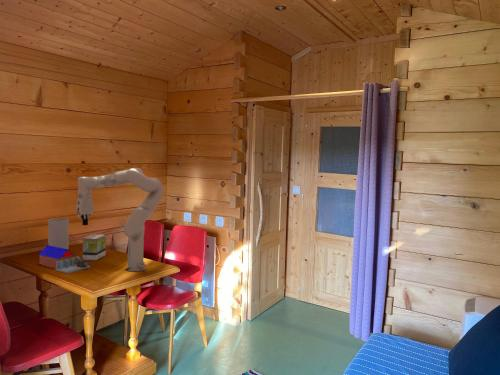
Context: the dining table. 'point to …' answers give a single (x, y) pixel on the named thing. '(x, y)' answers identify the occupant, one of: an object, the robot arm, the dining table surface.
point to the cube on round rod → (81, 263)
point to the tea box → (94, 247)
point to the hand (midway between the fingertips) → (85, 225)
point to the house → (54, 255)
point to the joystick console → (68, 265)
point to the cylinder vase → (58, 232)
